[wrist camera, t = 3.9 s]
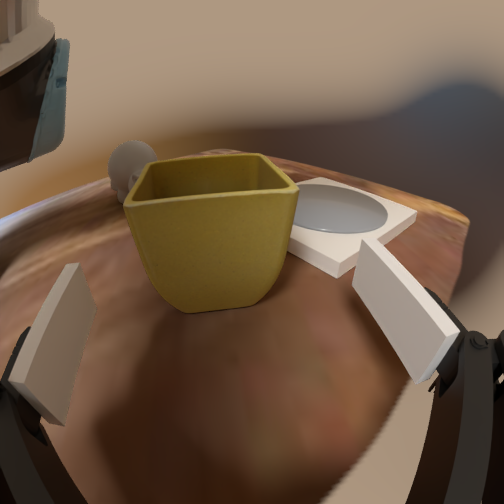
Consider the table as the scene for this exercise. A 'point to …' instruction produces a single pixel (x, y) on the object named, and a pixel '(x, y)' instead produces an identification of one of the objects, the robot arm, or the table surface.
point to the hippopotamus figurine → (128, 166)
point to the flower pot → (212, 228)
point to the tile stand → (341, 223)
